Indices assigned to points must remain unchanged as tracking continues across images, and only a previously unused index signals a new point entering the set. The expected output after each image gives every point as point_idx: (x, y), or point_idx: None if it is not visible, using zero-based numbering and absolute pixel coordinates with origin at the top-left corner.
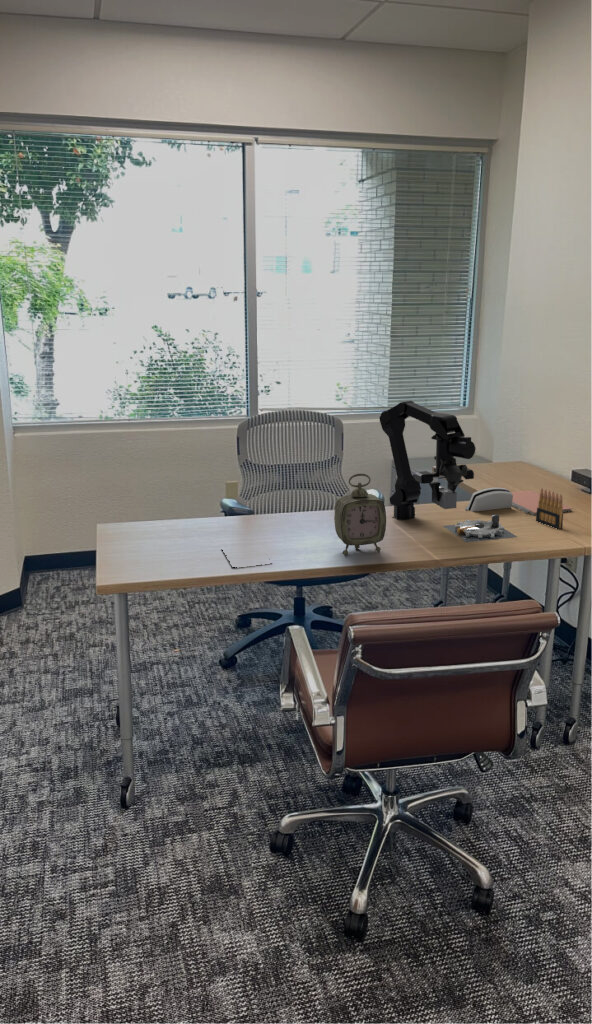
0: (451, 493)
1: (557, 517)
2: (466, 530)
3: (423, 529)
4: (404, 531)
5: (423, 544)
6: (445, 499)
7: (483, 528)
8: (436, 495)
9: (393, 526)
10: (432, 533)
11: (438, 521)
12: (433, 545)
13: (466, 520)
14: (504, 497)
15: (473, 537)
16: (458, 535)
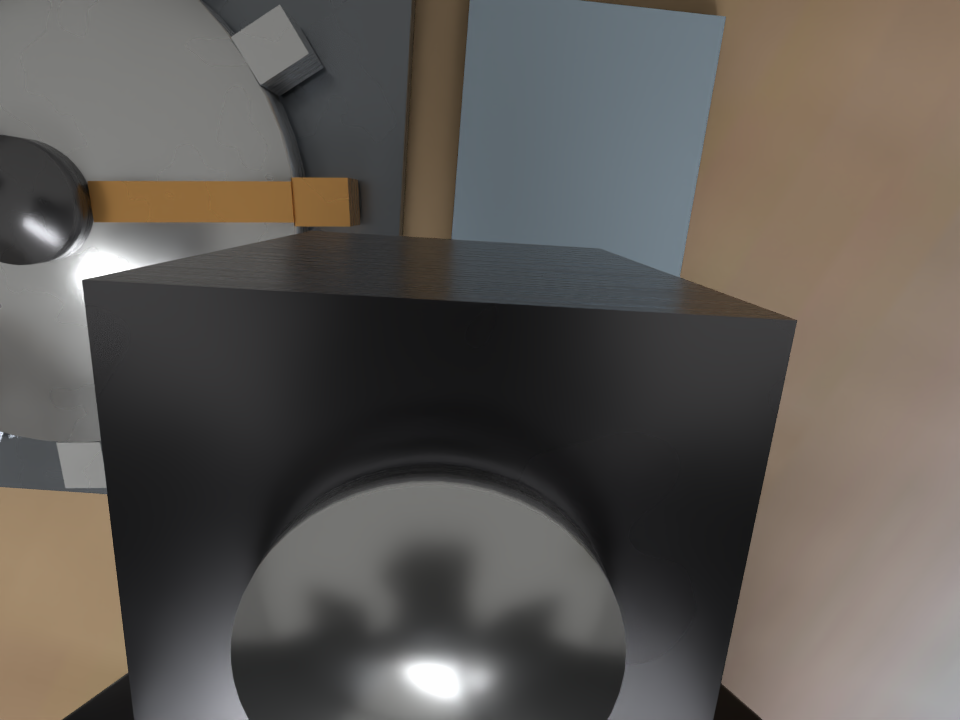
0: (415, 316)
1: None
2: (272, 112)
3: None
4: (758, 551)
5: (833, 124)
6: (674, 280)
7: (13, 94)
8: (741, 712)
9: (762, 697)
10: None
11: None
12: (759, 45)
13: (101, 466)
14: None
15: (245, 4)
16: (381, 153)
